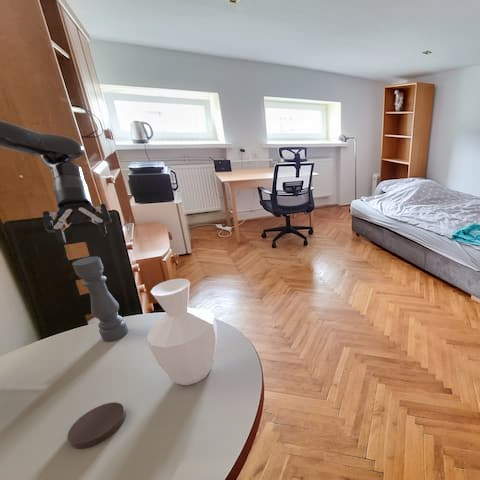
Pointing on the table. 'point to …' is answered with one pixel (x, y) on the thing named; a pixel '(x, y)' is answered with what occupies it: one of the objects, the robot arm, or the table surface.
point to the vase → (182, 334)
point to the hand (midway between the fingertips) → (83, 238)
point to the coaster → (96, 425)
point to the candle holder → (101, 298)
